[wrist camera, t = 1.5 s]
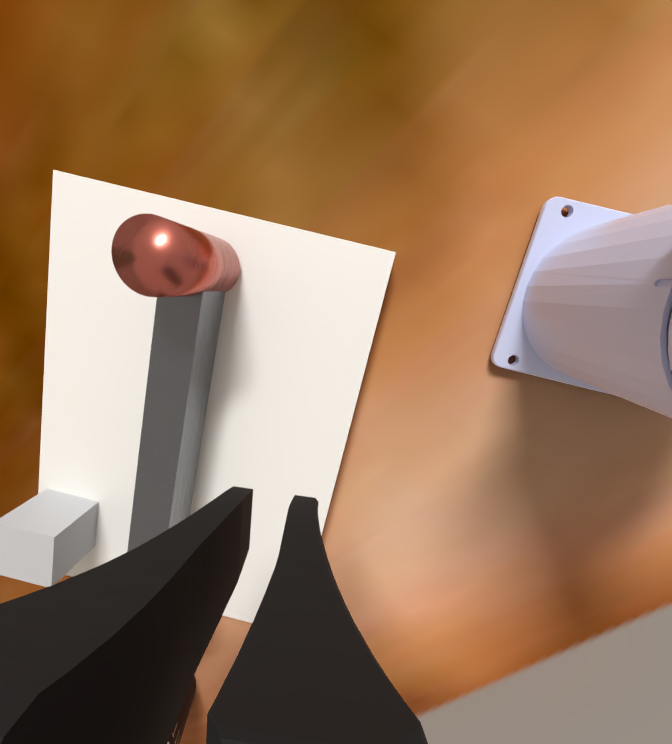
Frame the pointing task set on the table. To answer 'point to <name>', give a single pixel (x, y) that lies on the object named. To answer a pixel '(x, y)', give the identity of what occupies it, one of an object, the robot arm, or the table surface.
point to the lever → (173, 357)
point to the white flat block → (227, 390)
